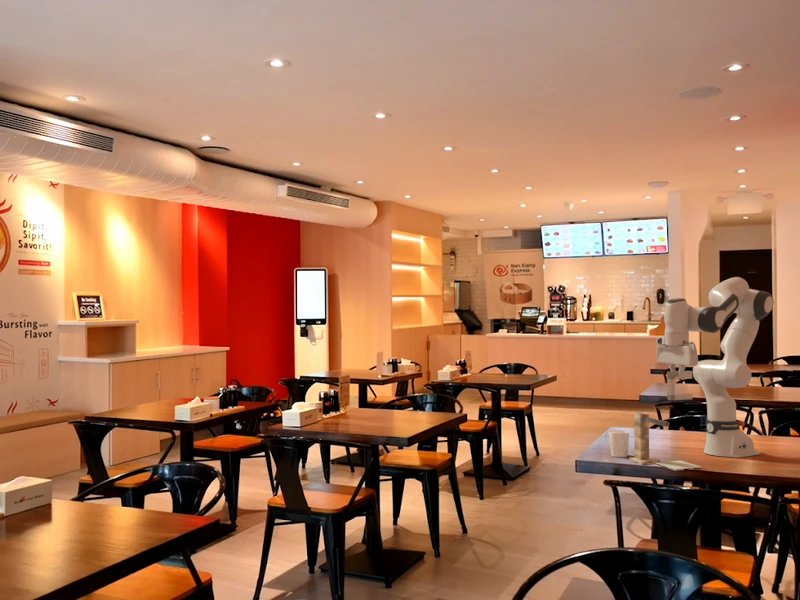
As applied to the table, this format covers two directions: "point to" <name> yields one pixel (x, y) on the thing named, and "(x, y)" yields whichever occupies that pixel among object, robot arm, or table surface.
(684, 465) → the mat
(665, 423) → the stand
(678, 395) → the c link
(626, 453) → the white cup
